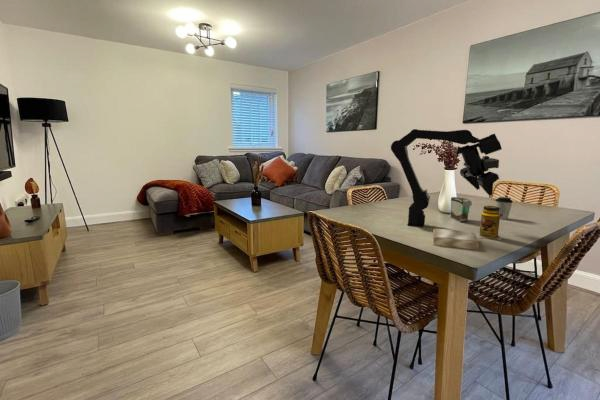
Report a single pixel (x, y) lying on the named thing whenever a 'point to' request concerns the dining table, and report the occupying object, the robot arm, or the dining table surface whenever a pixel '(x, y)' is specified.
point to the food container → (460, 208)
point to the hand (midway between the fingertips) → (484, 192)
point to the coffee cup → (504, 207)
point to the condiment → (489, 223)
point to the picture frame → (455, 239)
